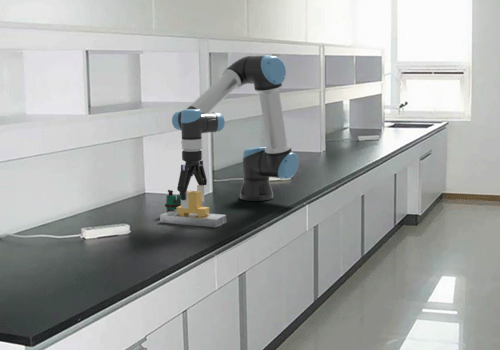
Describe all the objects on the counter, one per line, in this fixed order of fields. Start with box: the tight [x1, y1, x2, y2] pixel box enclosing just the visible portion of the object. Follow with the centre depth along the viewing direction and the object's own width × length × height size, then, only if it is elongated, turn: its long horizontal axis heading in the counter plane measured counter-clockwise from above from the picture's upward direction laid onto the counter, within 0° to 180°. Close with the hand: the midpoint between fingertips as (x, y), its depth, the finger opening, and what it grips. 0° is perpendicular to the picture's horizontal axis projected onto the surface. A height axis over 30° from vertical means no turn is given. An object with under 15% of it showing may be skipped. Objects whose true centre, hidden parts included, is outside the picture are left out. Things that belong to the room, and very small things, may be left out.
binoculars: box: [164, 189, 181, 212], centre depth 292 cm, size 9×11×10 cm
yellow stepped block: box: [176, 190, 210, 218], centre depth 276 cm, size 12×4×12 cm, turn 67°
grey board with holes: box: [159, 210, 227, 228], centre depth 276 cm, size 9×24×3 cm, turn 67°
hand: (192, 205), depth 275 cm, fingers open, 13 cm apart
